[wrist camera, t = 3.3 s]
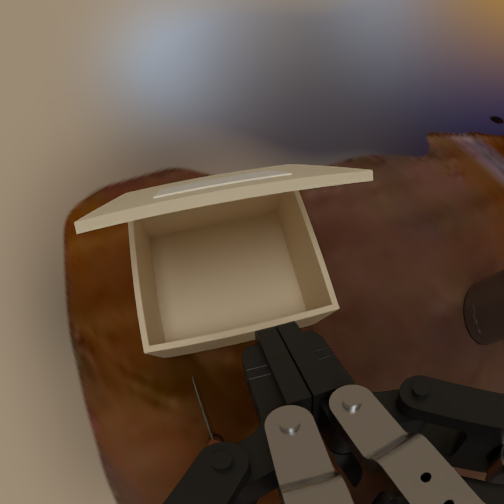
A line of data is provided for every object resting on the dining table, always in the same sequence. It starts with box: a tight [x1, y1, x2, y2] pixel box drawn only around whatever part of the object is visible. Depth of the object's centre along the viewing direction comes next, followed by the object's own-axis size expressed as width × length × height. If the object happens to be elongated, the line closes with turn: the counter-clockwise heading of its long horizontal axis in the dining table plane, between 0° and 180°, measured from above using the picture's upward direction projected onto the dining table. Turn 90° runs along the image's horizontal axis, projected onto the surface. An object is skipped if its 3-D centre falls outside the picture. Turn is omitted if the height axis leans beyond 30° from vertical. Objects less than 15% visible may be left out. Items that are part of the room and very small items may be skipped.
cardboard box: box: [128, 190, 339, 358], centre depth 29 cm, size 16×14×8 cm
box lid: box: [74, 164, 373, 234], centre depth 21 cm, size 16×14×1 cm
